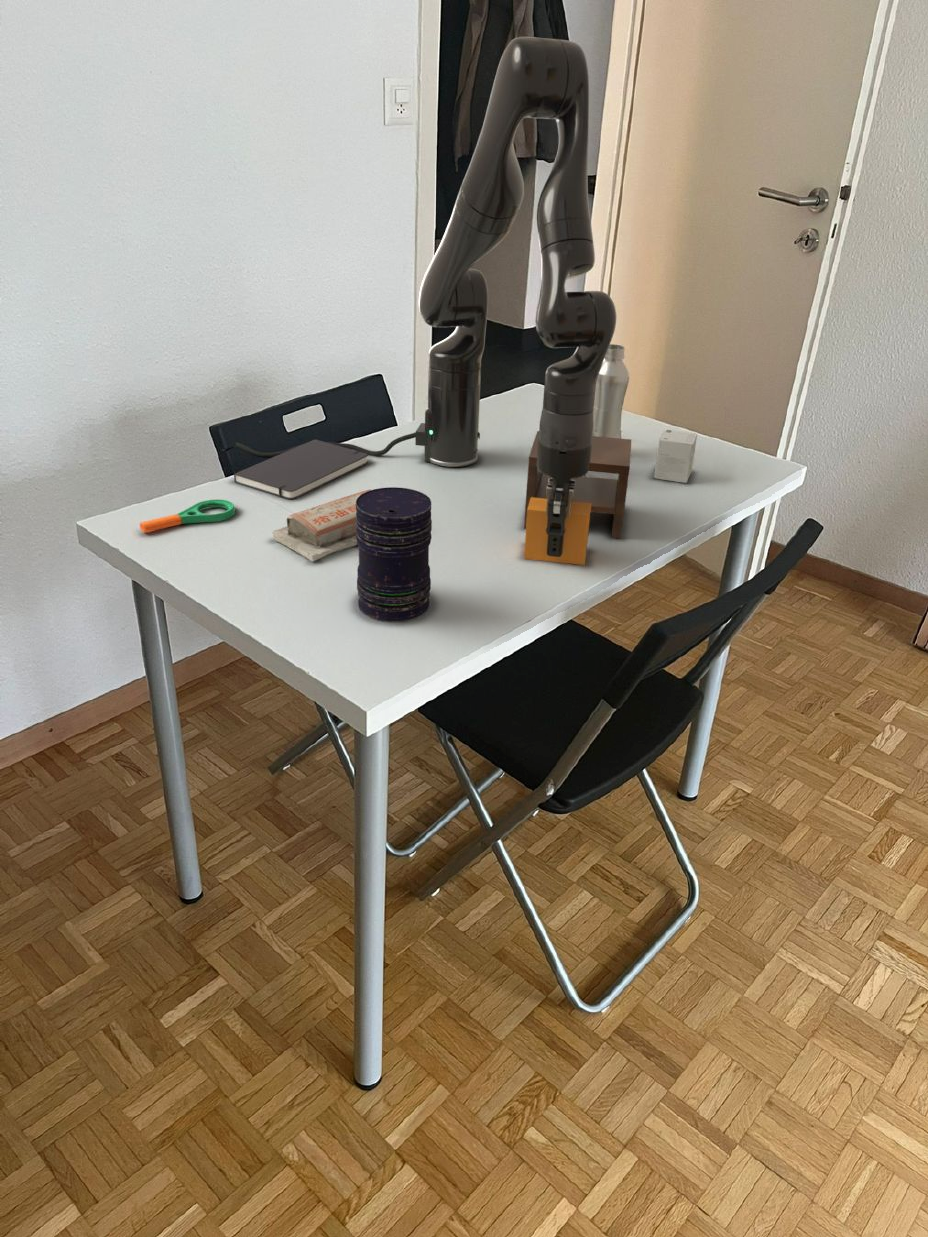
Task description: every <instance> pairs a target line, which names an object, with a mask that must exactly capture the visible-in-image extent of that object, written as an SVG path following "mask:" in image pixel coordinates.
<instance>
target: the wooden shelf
mask: <svg viewBox="0 0 928 1237" xmlns="http://www.w3.org/2000/svg"><path fill="white" fill-rule="evenodd" d="M538 440H539V430H537V431H536V434H535V437H534V440H533V442H532V445H531V450H530V452H529V456H528V464H527V465H528V466H527V479H526V492H525V504H524V505H525V508H524V518H523V519H524V520H523V529H524V530H526V522H527V509H528V506H529V502H530V499H531V497H533V498H544V499H547V496H546V489H547V484H548V480H549V478H552V477H550V476H548V475H545V474H543V473H541V472H540V471H539V470H538V468H537V453H538ZM631 453H632V439H629V438H621V439H620V438H609V437H598V436H593V437H592V447H591V457H590V466H589V471H588V472H593V473H604V474H613V475H618V476H617V479H616V478H605V477H594V476H585V475H584V476H581V477H578V478H572V480H576V484H575V491H574V497H573V500H572V501H575V502H585V503H591V513H597V514H598V513H599V514H608V515H613V519H612V529H611V531H612V532H611V539H612V538H613V539H619V540H620V539H621V538H622V532H623V531H622V530H623V524H624V515H625V508H626V498H627V492H628V484H629V476H630V470H631V469H630V468H631V455H632V454H631Z"/></svg>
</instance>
